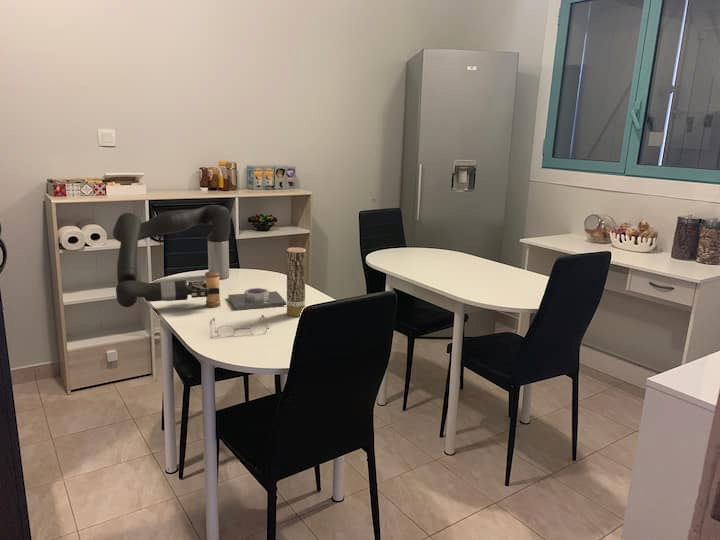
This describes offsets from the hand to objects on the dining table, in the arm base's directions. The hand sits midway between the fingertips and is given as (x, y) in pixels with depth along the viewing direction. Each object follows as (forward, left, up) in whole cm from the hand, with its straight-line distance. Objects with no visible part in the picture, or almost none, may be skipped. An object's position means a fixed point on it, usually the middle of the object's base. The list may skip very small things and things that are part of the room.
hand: (217, 287), depth 218 cm
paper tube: (+19, +26, -7) cm, 33 cm away
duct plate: (0, +15, -7) cm, 17 cm away
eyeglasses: (+26, +4, -8) cm, 27 cm away
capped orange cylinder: (0, -2, -7) cm, 7 cm away
